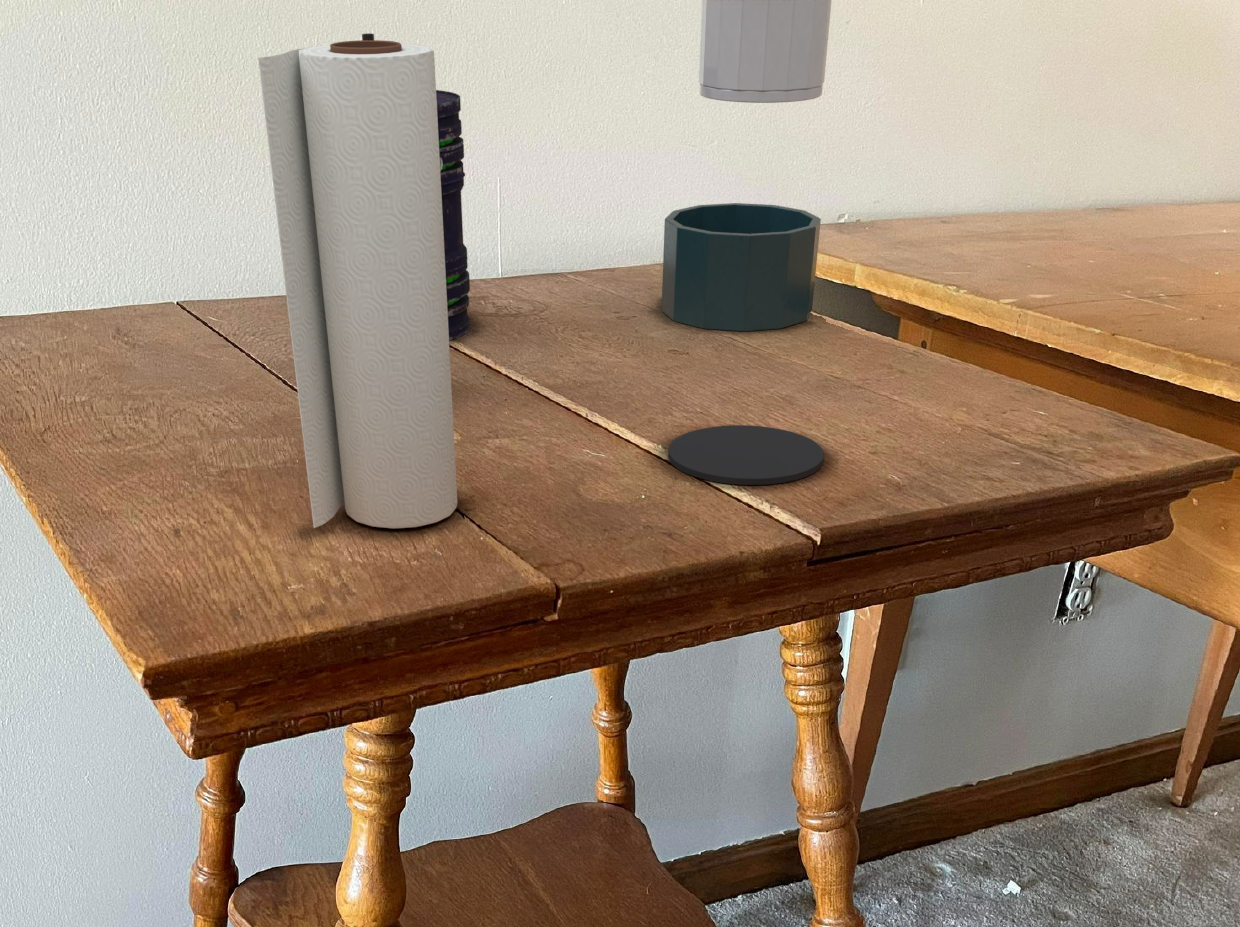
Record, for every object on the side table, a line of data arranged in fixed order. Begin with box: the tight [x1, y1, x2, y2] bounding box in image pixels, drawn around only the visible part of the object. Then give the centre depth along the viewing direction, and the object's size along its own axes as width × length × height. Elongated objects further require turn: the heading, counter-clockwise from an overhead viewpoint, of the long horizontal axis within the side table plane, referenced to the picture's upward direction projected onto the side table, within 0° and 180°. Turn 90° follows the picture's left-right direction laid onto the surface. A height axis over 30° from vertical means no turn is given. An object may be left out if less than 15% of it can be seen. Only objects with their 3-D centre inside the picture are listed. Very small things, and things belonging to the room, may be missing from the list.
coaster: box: [667, 424, 825, 486], centre depth 80 cm, size 9×9×1 cm
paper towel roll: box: [257, 39, 458, 529], centre depth 68 cm, size 7×6×21 cm
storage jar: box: [436, 89, 471, 341], centre depth 98 cm, size 10×10×15 cm
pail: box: [661, 202, 822, 332], centre depth 104 cm, size 11×11×6 cm
